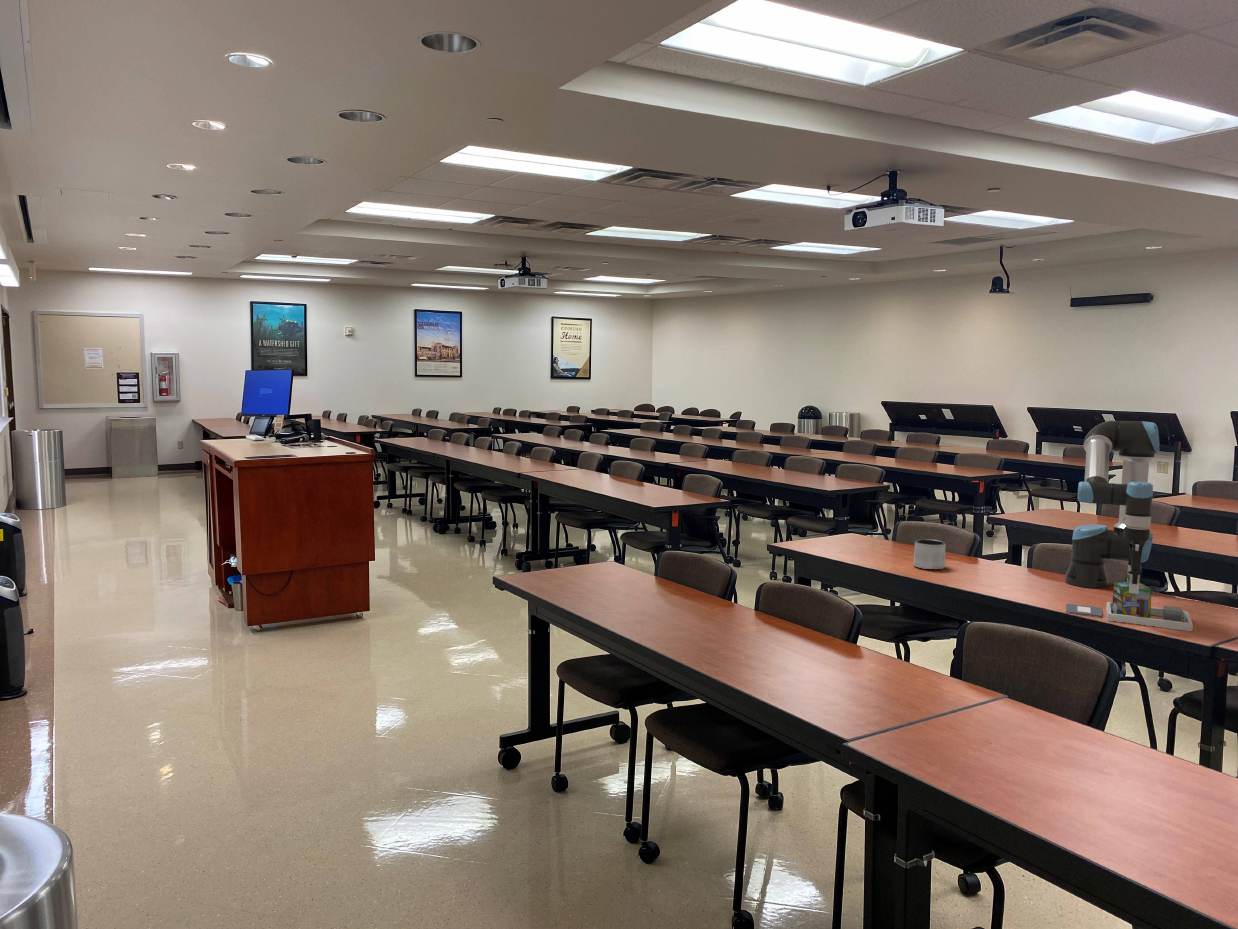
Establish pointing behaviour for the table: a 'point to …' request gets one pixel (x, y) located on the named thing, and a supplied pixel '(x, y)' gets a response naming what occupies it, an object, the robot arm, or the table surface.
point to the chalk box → (1131, 600)
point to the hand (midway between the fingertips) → (1132, 588)
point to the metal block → (1172, 613)
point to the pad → (1084, 610)
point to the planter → (929, 554)
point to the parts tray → (1151, 619)
